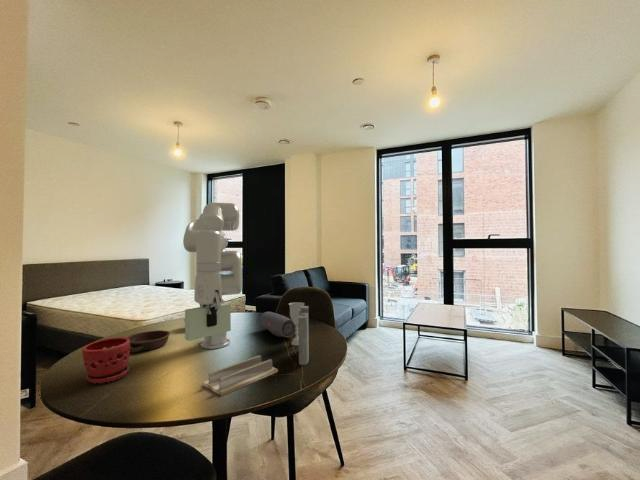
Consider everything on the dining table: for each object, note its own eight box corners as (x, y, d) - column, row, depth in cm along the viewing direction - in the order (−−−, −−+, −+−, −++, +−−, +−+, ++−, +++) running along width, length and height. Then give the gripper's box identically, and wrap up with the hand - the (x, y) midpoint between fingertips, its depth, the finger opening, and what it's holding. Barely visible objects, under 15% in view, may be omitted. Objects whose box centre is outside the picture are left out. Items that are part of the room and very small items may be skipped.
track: (202, 385, 96) (202, 372, 96) (258, 364, 112) (258, 353, 113) (221, 396, 89) (221, 382, 89) (278, 371, 105) (277, 360, 105)
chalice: (306, 341, 139) (305, 302, 139) (303, 346, 132) (303, 305, 132) (290, 341, 140) (290, 302, 140) (287, 345, 133) (287, 305, 133)
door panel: (185, 338, 93) (184, 309, 93) (225, 329, 103) (225, 302, 103) (189, 340, 91) (189, 311, 91) (230, 330, 101) (230, 303, 101)
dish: (111, 355, 124) (111, 343, 125) (146, 338, 146) (146, 328, 147) (151, 355, 123) (151, 343, 123) (180, 339, 145) (180, 328, 145)
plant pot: (102, 370, 109) (102, 336, 109) (138, 370, 108) (138, 336, 108) (71, 387, 96) (72, 349, 96) (112, 387, 95) (112, 349, 95)
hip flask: (299, 350, 127) (298, 302, 127) (308, 350, 127) (308, 302, 128) (298, 365, 111) (298, 311, 111) (309, 364, 111) (309, 310, 112)
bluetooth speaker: (258, 331, 157) (258, 311, 157) (274, 328, 162) (274, 309, 163) (279, 341, 139) (279, 320, 139) (297, 338, 144) (296, 317, 144)
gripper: (186, 267, 100) (186, 323, 100) (210, 270, 89) (210, 332, 89) (207, 266, 106) (207, 318, 105) (232, 268, 95) (233, 327, 94)
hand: (209, 324), depth 97 cm, fingers closed on door panel, 3 cm apart
